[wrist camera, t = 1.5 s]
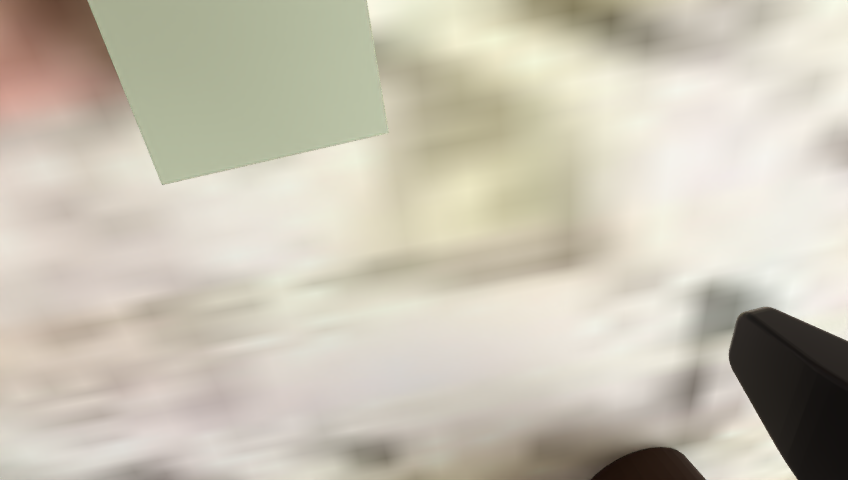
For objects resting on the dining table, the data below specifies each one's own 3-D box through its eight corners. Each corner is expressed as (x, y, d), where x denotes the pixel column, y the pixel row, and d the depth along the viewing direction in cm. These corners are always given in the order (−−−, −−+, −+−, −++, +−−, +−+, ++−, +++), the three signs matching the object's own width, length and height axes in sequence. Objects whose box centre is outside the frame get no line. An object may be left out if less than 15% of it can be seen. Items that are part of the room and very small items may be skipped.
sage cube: (171, 97, 18) (161, 185, 14) (98, -106, 16) (60, -65, 12) (351, 59, 19) (389, 133, 15) (312, -141, 16) (347, -115, 12)
